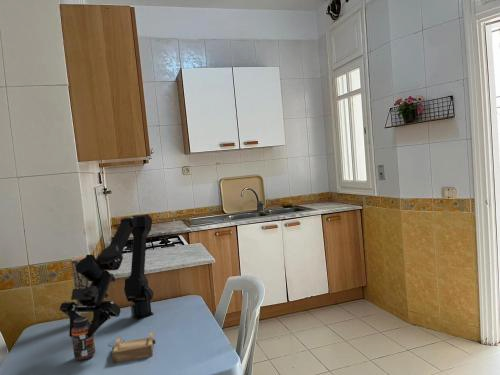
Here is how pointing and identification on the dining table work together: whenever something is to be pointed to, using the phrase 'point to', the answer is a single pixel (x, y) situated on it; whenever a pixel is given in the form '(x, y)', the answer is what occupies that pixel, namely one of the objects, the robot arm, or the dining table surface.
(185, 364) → the dining table surface
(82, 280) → the paper tube
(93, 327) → the robot arm
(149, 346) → the holder
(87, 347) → the supplement bottle
